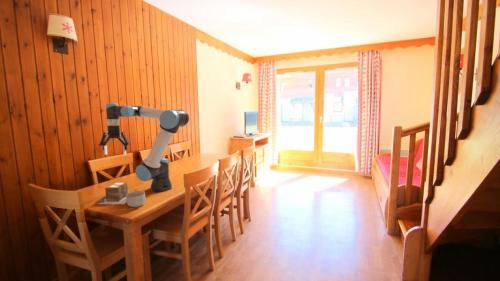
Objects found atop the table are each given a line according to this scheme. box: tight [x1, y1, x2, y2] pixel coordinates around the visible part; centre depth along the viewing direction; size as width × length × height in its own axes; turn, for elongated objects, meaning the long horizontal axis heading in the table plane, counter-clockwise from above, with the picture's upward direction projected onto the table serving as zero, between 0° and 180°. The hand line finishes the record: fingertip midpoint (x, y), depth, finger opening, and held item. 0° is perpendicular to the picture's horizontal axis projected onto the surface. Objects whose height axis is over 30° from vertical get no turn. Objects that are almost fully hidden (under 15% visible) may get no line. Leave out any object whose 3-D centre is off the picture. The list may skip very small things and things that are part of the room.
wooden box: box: [104, 181, 129, 202], centre depth 167 cm, size 12×8×9 cm, turn 179°
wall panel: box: [94, 195, 127, 205], centre depth 168 cm, size 18×20×2 cm
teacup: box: [126, 190, 146, 208], centre depth 157 cm, size 14×11×8 cm
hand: (115, 154), depth 181 cm, fingers open, 13 cm apart
